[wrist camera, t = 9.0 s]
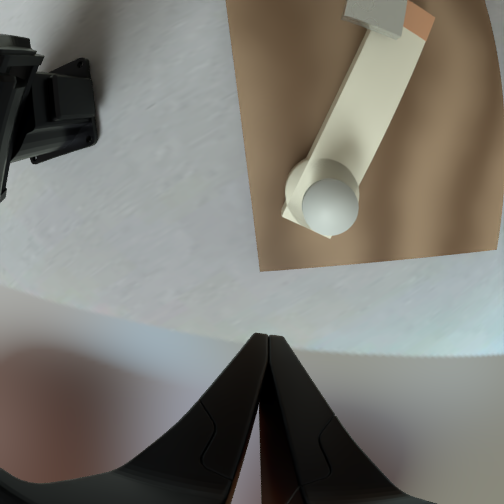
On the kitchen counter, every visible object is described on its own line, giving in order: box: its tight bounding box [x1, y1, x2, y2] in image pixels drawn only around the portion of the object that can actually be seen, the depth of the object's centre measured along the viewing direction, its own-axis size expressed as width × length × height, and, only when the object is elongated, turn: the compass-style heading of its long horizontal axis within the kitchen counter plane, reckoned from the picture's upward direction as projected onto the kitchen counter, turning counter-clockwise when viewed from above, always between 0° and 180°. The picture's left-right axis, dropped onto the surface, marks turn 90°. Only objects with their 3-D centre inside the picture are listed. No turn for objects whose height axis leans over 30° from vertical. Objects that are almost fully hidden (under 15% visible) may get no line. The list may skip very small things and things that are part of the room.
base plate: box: [226, 0, 504, 272], centre depth 15 cm, size 18×22×1 cm
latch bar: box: [281, 0, 435, 239], centre depth 14 cm, size 15×4×4 cm, turn 157°
